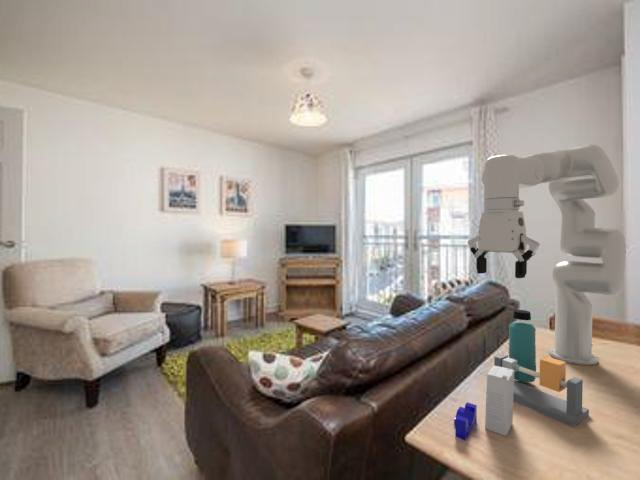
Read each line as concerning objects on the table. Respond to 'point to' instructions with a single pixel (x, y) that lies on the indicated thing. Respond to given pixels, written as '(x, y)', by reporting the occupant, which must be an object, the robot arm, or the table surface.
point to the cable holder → (465, 420)
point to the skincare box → (499, 400)
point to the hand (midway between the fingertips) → (500, 275)
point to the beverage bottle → (522, 345)
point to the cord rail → (547, 395)
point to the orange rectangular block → (552, 373)
